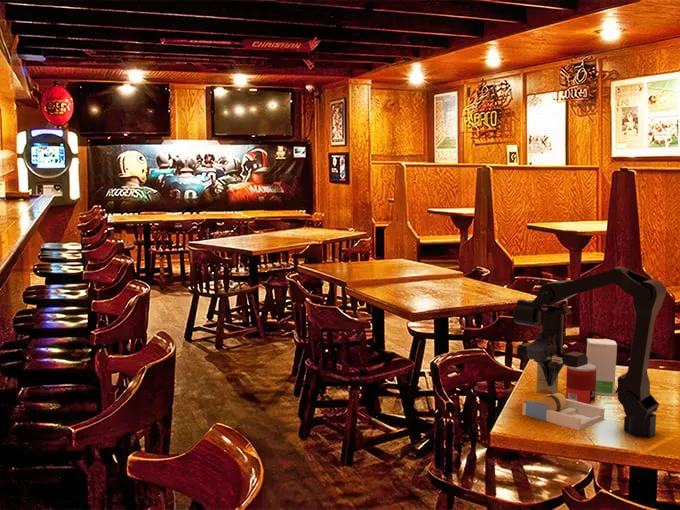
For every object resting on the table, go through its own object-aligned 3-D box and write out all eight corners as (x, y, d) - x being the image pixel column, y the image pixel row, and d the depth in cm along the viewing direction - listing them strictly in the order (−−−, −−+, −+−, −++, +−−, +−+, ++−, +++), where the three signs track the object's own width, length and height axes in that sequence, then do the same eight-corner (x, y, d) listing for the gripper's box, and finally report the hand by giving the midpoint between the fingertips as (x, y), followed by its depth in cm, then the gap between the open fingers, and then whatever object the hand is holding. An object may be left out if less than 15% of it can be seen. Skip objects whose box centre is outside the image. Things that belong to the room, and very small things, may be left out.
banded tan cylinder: (549, 406, 212) (553, 390, 211) (565, 413, 208) (568, 396, 207) (533, 412, 206) (536, 395, 205) (548, 419, 203) (551, 402, 202)
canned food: (596, 408, 215) (598, 369, 213) (566, 406, 216) (568, 368, 215) (593, 399, 222) (594, 362, 221) (564, 398, 224) (565, 361, 223)
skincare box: (585, 394, 228) (587, 342, 226) (584, 387, 234) (585, 337, 232) (615, 396, 226) (617, 344, 224) (613, 389, 232) (615, 339, 230)
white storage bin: (603, 423, 202) (604, 404, 202) (578, 434, 194) (579, 415, 193) (548, 408, 215) (549, 390, 214) (522, 418, 206) (522, 399, 206)
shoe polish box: (536, 395, 227) (537, 355, 225) (541, 391, 231) (542, 352, 229) (553, 398, 224) (554, 357, 223) (557, 393, 228) (558, 354, 227)
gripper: (504, 327, 206) (503, 384, 208) (566, 339, 192) (564, 399, 194) (528, 322, 214) (527, 376, 215) (589, 332, 200) (587, 391, 202)
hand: (550, 385), depth 206 cm, fingers closed
